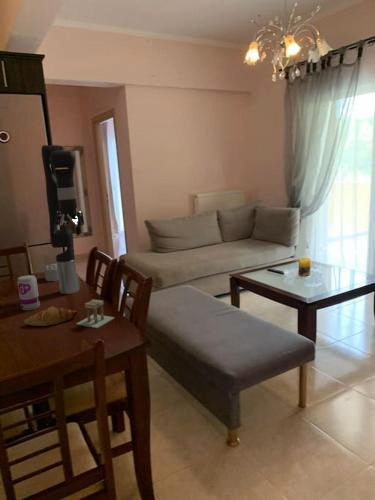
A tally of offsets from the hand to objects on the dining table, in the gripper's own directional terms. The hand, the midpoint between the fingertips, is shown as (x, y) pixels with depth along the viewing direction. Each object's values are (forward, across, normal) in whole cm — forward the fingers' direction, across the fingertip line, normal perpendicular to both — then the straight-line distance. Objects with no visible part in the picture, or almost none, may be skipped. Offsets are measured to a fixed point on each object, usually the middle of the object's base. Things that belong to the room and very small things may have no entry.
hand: (71, 234), depth 166 cm
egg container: (+34, +50, -32) cm, 69 cm away
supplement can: (+34, +22, +9) cm, 42 cm away
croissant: (+34, -1, +18) cm, 39 cm away
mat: (+34, -19, +11) cm, 41 cm away
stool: (+34, -19, +11) cm, 40 cm away
